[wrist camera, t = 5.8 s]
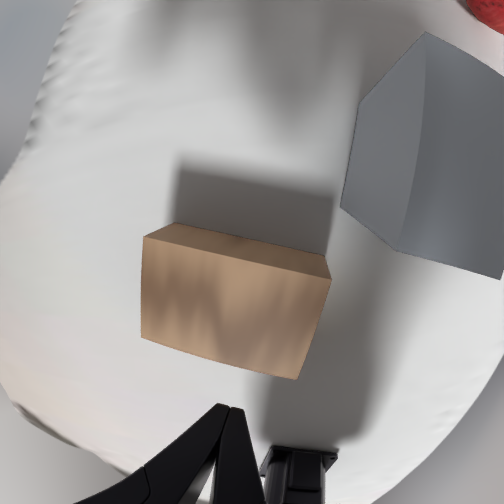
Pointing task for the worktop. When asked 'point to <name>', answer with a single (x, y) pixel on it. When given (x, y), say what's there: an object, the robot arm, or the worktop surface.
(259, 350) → the walnut block
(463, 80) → the grey block
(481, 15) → the onion
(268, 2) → the worktop surface
